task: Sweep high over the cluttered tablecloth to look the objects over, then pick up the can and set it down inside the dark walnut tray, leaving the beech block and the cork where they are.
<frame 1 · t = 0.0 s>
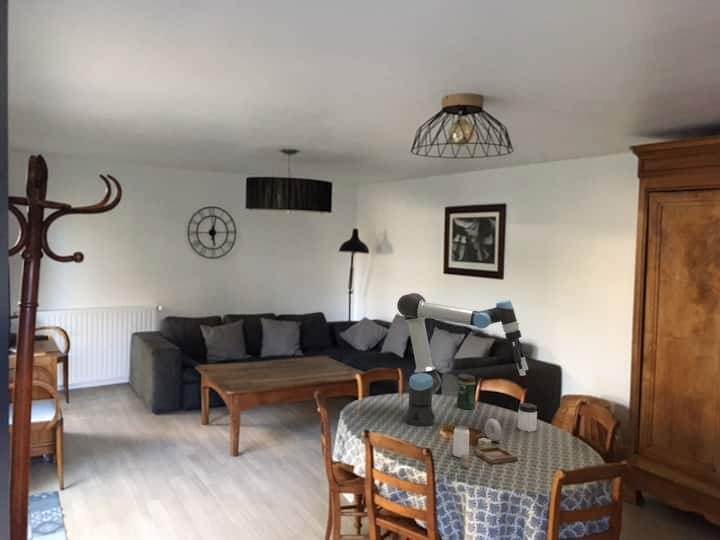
hand: (524, 372, 279), 28 cm above the table, tool tilted 20°, fingers open, 13 cm apart
jar: (526, 429, 279), on the table
walnut tray: (495, 457, 238), on the table
coffee jar: (465, 407, 314), on the table
beech block: (484, 448, 249), on the table
cork: (465, 466, 227), on the table
white round disc: (492, 440, 260), on the table
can: (460, 455, 239), on the table
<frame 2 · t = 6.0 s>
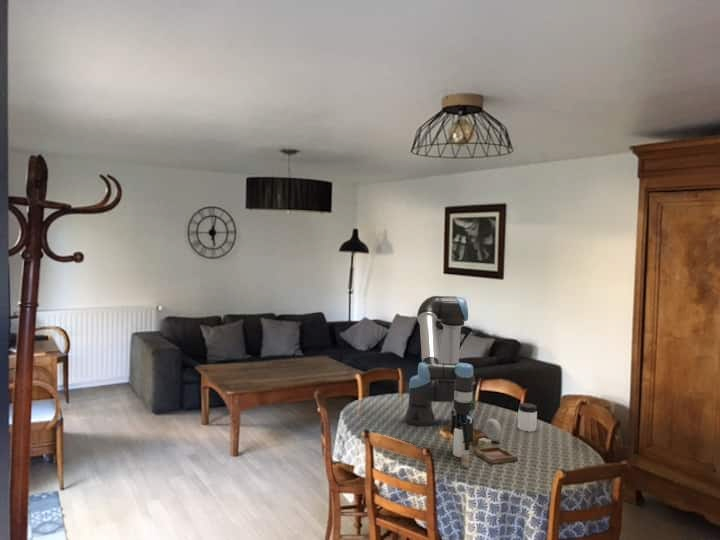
hand: (460, 454, 239), 0 cm above the table, tool pointing down, fingers closed on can, 6 cm apart
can: (460, 455, 239), on the table, touching gripper
everything else where it was.
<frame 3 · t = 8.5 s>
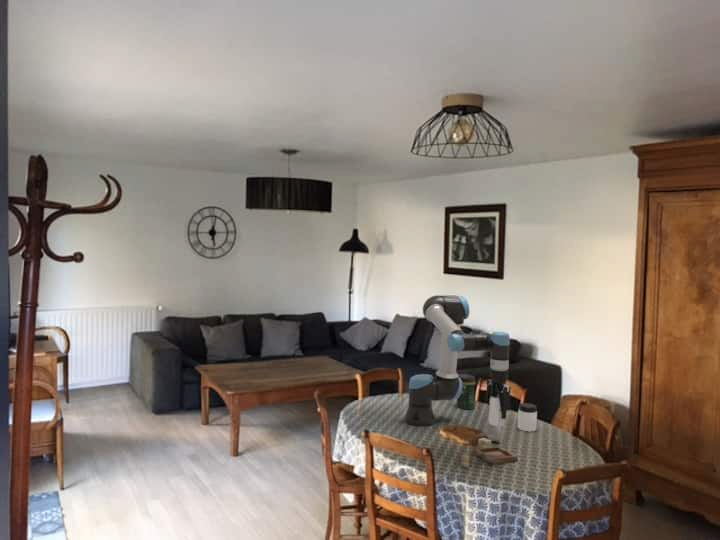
hand: (496, 423, 238), 15 cm above the table, tool pointing down, fingers closed on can, 6 cm apart
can: (496, 424, 238), point 14 cm above the table, touching gripper
everything else where it was.
when the fingers open (2 cm above the table, at t = 10.9 s): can drops 1 cm, resting on walnut tray.
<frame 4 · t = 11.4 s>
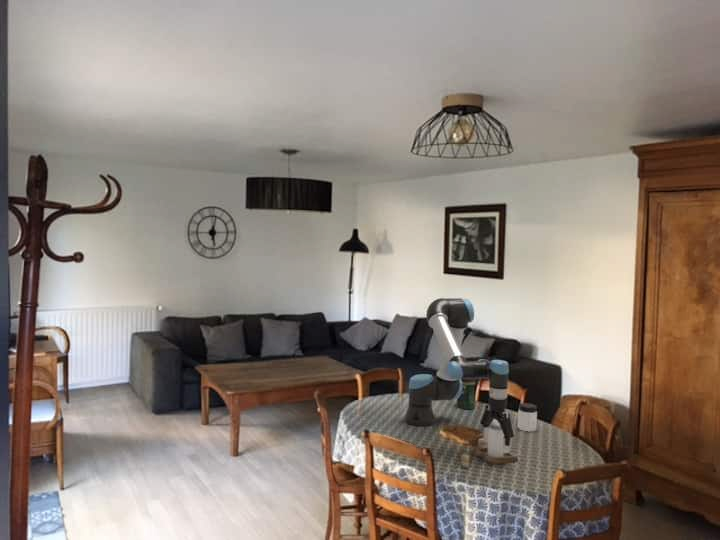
hand: (495, 447, 238), 4 cm above the table, tool pointing down, fingers open, 13 cm apart
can: (495, 456, 238), resting on walnut tray
everything else where it was.
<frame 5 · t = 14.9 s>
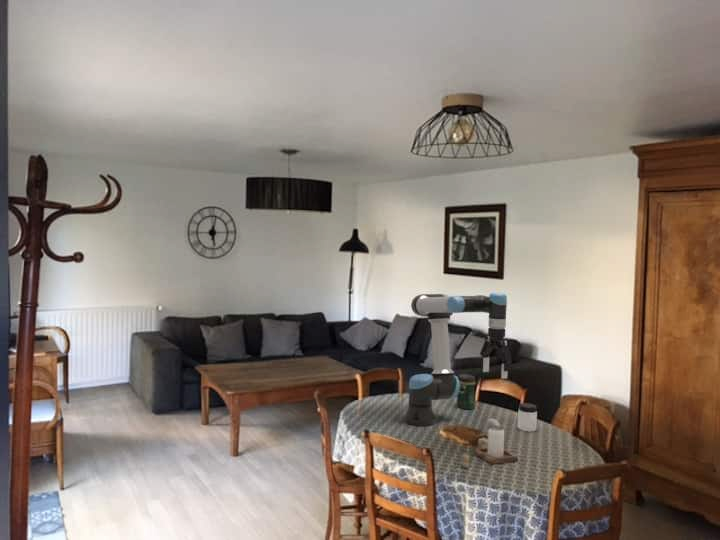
hand: (494, 375, 253), 32 cm above the table, tool pointing down, fingers open, 13 cm apart
nothing on the table moved.
at the end: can inside the target area on the walnut tray (0.0 cm from its centre), point 0.4 cm above the walnut tray's base; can tilted 0°; the gripper is holding nothing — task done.
